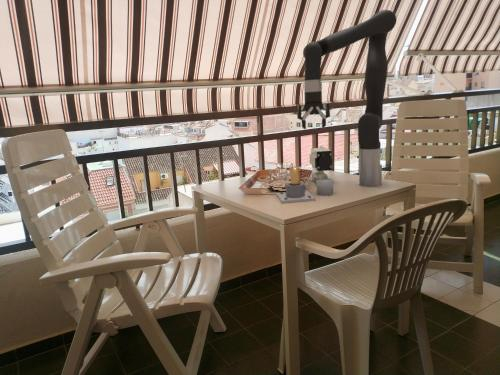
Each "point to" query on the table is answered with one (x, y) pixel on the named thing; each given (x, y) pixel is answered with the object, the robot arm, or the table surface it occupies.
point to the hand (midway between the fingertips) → (313, 128)
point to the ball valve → (320, 162)
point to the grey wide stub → (324, 187)
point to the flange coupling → (295, 194)
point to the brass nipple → (294, 176)
